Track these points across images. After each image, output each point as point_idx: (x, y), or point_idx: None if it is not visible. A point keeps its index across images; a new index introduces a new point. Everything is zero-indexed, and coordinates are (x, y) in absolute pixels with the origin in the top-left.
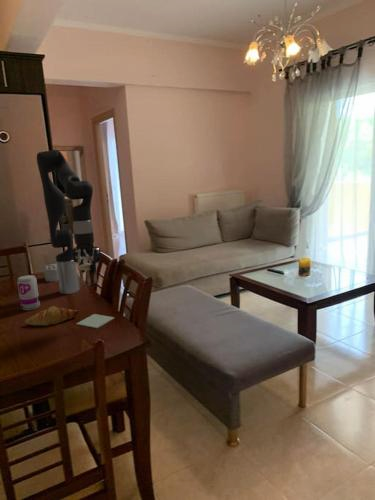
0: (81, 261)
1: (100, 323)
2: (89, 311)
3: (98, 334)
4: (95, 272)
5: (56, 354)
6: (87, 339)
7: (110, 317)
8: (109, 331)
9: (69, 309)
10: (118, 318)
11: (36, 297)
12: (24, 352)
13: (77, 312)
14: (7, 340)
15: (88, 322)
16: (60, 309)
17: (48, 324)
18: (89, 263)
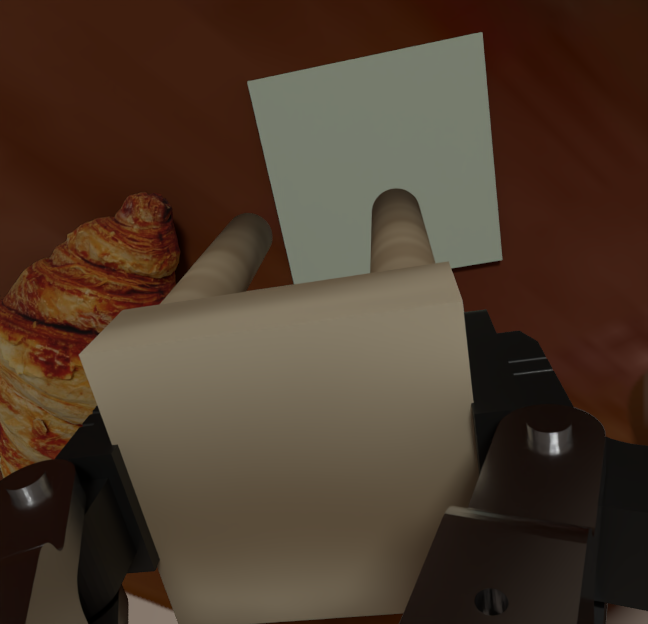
0: (94, 573)
1: (468, 196)
2: (134, 46)
3: (586, 317)
4: (483, 314)
5: None
6: (570, 397)
7: (450, 56)
8: (629, 245)
9: (114, 259)
10: (518, 12)
11: None
12: (375, 620)
13: (171, 210)
14: (161, 596)
15: (362, 232)
16: None
17: None
18: (222, 365)
